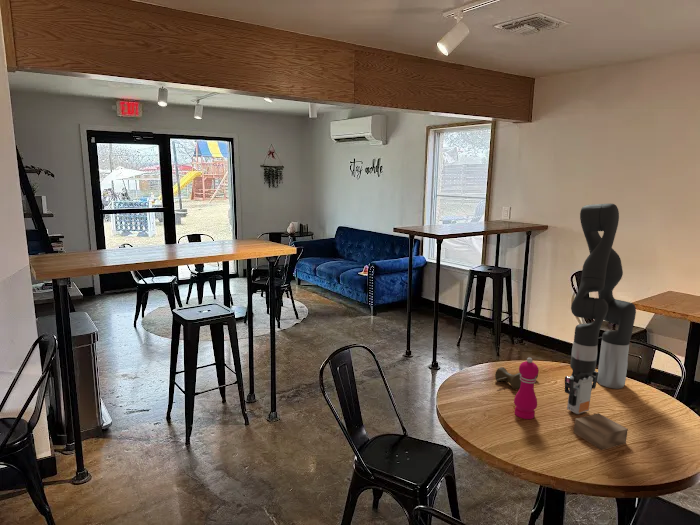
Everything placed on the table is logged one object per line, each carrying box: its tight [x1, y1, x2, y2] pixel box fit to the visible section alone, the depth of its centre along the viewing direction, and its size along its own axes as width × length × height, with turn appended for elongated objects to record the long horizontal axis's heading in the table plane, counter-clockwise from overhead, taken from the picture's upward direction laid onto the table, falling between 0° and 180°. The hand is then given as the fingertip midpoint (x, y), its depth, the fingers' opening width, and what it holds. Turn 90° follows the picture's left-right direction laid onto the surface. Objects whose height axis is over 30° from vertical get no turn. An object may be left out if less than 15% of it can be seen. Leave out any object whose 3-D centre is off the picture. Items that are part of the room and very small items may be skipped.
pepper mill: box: [513, 357, 539, 420], centre depth 153 cm, size 7×7×20 cm
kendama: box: [494, 366, 539, 390], centre depth 179 cm, size 6×10×20 cm
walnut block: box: [573, 412, 629, 451], centre depth 141 cm, size 10×10×5 cm
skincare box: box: [566, 377, 593, 415], centre depth 156 cm, size 6×4×12 cm
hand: (578, 402), depth 157 cm, fingers closed on skincare box, 6 cm apart
